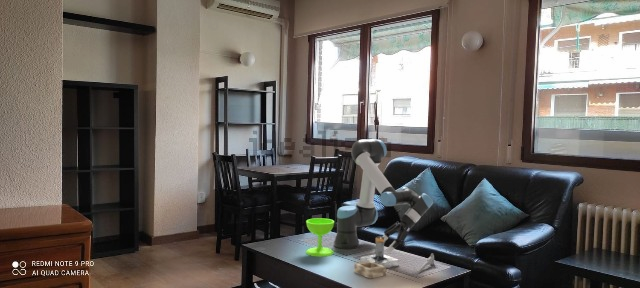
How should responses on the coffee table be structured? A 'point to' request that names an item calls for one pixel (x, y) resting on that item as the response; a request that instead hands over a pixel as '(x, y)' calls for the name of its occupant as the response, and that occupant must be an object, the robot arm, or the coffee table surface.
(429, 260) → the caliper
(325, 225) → the wineglass
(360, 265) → the tan open tray
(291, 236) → the coffee table surface
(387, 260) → the socket block
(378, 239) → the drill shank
